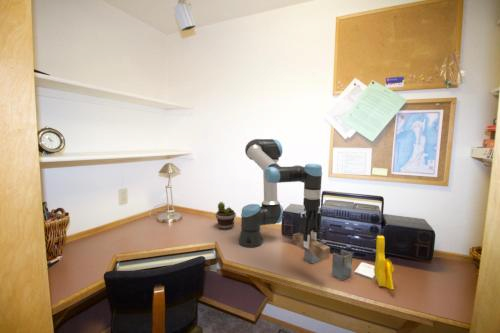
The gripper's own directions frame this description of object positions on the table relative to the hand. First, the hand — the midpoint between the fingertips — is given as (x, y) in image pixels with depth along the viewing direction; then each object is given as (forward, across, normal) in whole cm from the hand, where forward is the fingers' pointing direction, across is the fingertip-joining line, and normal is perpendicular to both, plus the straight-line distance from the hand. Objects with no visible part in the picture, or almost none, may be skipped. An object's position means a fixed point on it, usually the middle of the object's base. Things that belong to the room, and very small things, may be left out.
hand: (309, 246), depth 110 cm
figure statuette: (+15, +23, -23) cm, 36 cm away
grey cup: (+14, +13, -8) cm, 21 cm away
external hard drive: (+15, +27, -14) cm, 33 cm away
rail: (+2, 0, 0) cm, 2 cm away
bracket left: (+14, +13, +8) cm, 21 cm away
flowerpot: (+15, -4, +76) cm, 77 cm away
